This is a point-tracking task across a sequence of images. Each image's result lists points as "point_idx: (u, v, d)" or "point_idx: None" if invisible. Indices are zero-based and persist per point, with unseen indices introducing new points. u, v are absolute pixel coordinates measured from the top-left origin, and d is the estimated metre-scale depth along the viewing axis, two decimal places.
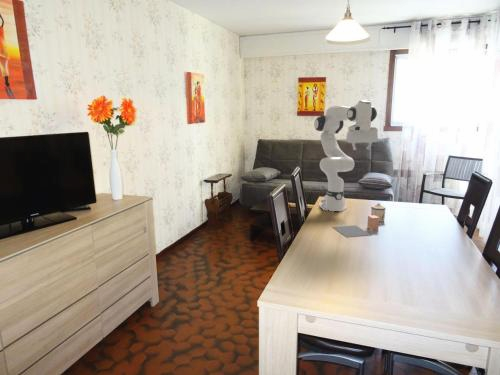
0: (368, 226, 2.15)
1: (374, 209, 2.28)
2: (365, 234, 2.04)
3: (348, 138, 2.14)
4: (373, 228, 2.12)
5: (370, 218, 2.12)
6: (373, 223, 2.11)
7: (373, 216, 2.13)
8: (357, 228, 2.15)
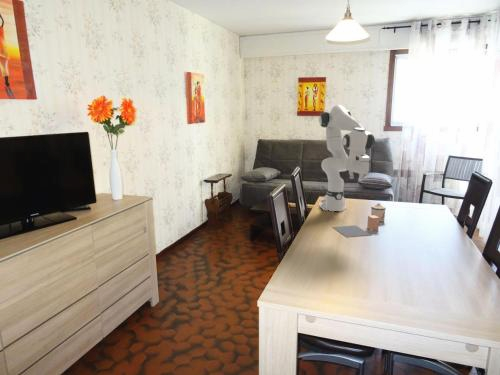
0: (368, 226, 2.15)
1: (374, 209, 2.28)
2: (365, 234, 2.04)
3: (366, 170, 1.93)
4: (373, 228, 2.12)
5: (370, 218, 2.12)
6: (373, 223, 2.11)
7: (373, 216, 2.13)
8: (357, 228, 2.15)
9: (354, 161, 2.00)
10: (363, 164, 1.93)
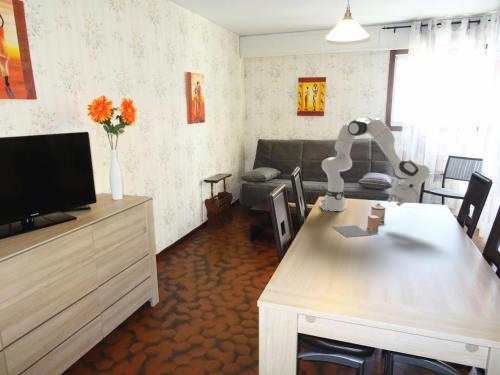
0: (368, 226, 2.15)
1: (374, 209, 2.28)
2: (365, 234, 2.04)
3: (412, 199, 2.05)
4: (373, 228, 2.12)
5: (370, 218, 2.12)
6: (373, 223, 2.11)
7: (373, 216, 2.13)
8: (357, 228, 2.15)
9: (404, 188, 2.12)
10: (413, 193, 2.05)
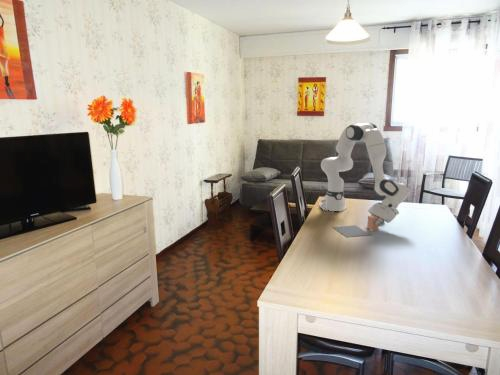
0: (368, 226, 2.15)
1: None
2: (365, 234, 2.04)
3: (390, 219, 2.04)
4: (373, 228, 2.12)
5: (370, 218, 2.12)
6: (373, 223, 2.11)
7: (373, 216, 2.13)
8: (357, 228, 2.15)
9: (384, 207, 2.11)
10: (392, 212, 2.04)
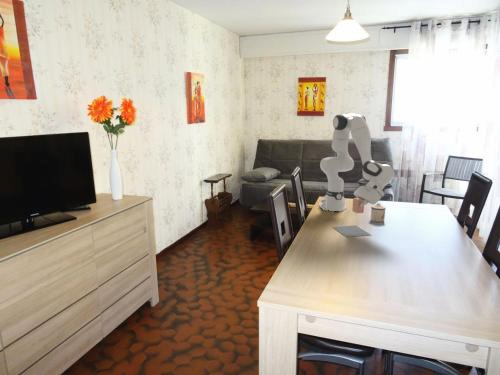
0: (353, 209, 2.09)
1: (374, 209, 2.28)
2: (365, 234, 2.04)
3: (375, 200, 1.98)
4: (358, 211, 2.06)
5: (355, 200, 2.06)
6: (358, 205, 2.05)
7: (358, 198, 2.07)
8: (357, 228, 2.15)
9: (369, 189, 2.05)
10: (377, 194, 1.98)
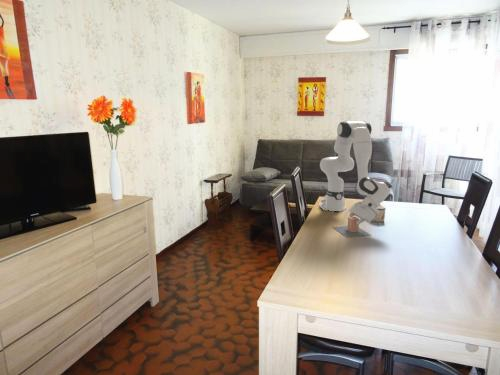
0: (348, 228, 2.11)
1: None
2: (365, 234, 2.04)
3: (370, 218, 2.00)
4: (353, 230, 2.08)
5: (350, 219, 2.08)
6: (353, 225, 2.07)
7: (353, 217, 2.09)
8: None
9: (364, 206, 2.07)
10: (371, 212, 2.00)
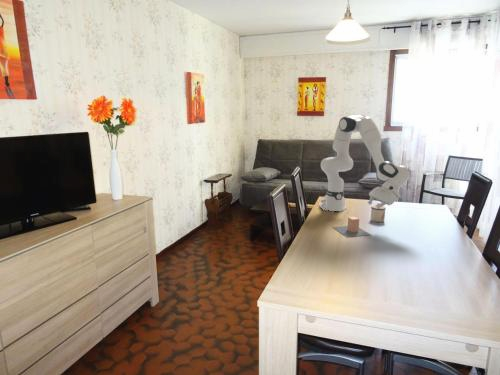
0: (348, 228, 2.11)
1: (374, 209, 2.28)
2: (365, 234, 2.04)
3: (391, 201, 2.01)
4: (353, 230, 2.08)
5: (350, 219, 2.08)
6: (353, 225, 2.07)
7: (353, 217, 2.09)
8: None
9: (385, 190, 2.08)
10: (393, 195, 2.01)
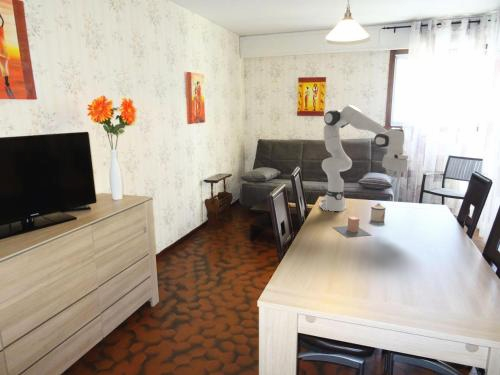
0: (348, 228, 2.11)
1: (374, 209, 2.28)
2: (365, 234, 2.04)
3: (405, 167, 2.06)
4: (353, 230, 2.08)
5: (350, 219, 2.08)
6: (353, 225, 2.07)
7: (353, 217, 2.09)
8: None
9: (392, 159, 2.12)
10: (402, 162, 2.06)
